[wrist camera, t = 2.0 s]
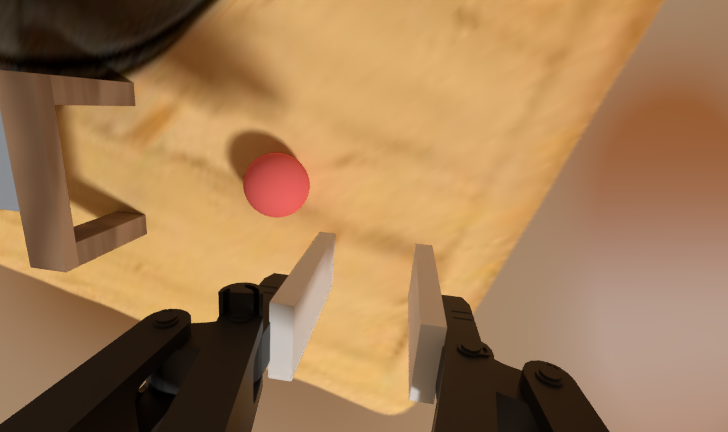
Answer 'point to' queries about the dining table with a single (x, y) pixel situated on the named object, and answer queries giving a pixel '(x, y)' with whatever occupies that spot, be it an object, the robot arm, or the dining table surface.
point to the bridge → (57, 168)
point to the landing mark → (6, 176)
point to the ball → (276, 184)
